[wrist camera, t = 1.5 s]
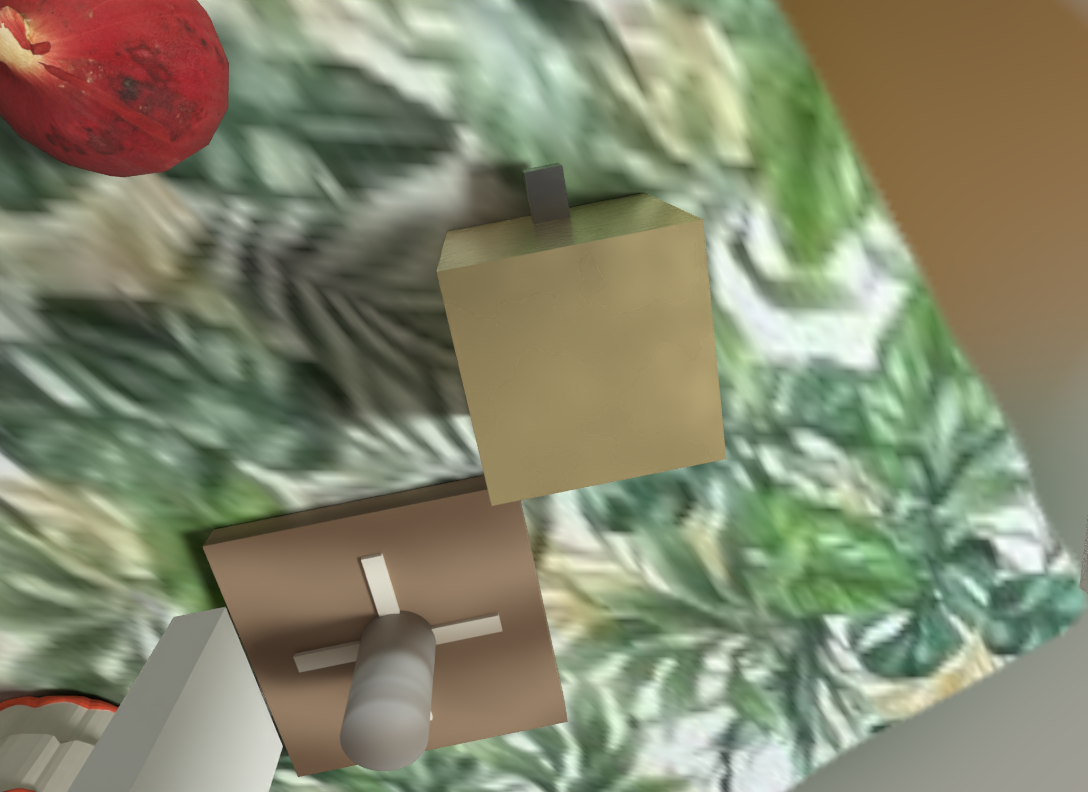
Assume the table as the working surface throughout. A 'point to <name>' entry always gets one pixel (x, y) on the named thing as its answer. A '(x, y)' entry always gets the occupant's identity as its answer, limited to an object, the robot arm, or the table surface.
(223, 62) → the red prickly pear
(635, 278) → the block with peg
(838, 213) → the table surface
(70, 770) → the toy
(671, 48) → the table surface
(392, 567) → the flat board
